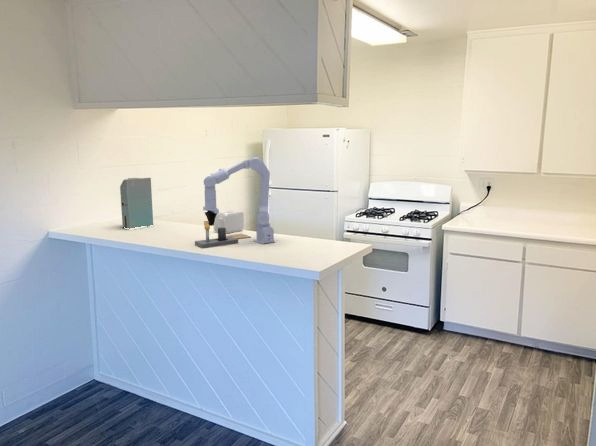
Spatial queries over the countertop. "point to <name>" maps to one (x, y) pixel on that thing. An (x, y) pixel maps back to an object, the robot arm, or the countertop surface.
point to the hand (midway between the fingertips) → (211, 225)
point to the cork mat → (239, 236)
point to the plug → (221, 234)
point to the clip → (206, 225)
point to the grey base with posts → (215, 241)
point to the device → (136, 202)
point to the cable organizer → (229, 221)
